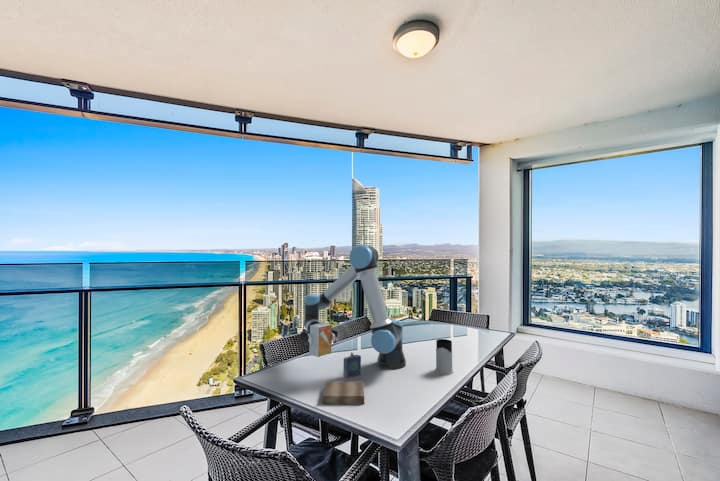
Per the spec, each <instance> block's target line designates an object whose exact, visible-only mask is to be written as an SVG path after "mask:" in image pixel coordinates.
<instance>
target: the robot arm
mask: <svg viewBox="0 0 720 481" xmlns="http://www.w3.org/2000/svg"><path fill="white" fill-rule="evenodd" d="M348 256H349V258H348V259H349V260H348V261H349V262H350V266H349V267H348V268H347V269H346V270H345V271H343V273H342V274H341V275H340V276H339V277H337V279H335V281H333V283H332V284H331V285H329V286H328V287H327V288H326V289H325V290H324V291H323V292H322V293H321V294H320V295H319V294H312V293H311V294H307V295H306V296H305V301H304V320H303V326H304V328H302V331H301V333H300V340H304V342H308V343H309V345H310V343H311V336H310V325H314V324H320V323H321V322H320V311H322V310H325V309H328V308H329V307H330V306H331V305H332V303H334V301H335V300H336V299H337V298H338V297H339V296H340V295H342V293H343V292H344V291H345V290H347V288H349V287H350V286H351V285H352V284H353V283H354V282H355V281H356V280H357V279H360V282H361V285H362V286H361V287H362V290H363V293H364V297H365V301H366V304H367V308H368V312H369V315H370V319H371V325H370V326H369V328H370V331H371V340H370V343H371V346H372V348H373V350H375V351H376V352H378V353H379V354H378V356H377V360H376V362H377V366H379V367H381V368H384V369H388V370H389V369H390V370H397V369H402V368H404V367H406V365H407V362H406V361H407V360H406V357H405V354H404V351H403V328H404V327H403V326H404V325H403V322H402V320H395V319H394V320H393V319H391V318H390V317H389V315H388V311H387V307H386V302H385V300H384V297H383V293H382V289H381V286H380V282H379V277H378V275H377V271H378V269H379V267H378V262H379V257H380V256H379V251H378V250H377V249H376V248H375V247H374V246H371V245H366V244H361V245H360V244H359V245H356V246H354V247H353V248H352V249H351V250H350V253H349V254H348ZM359 277H360V278H359ZM338 332H339V331H337V330H335V329H333V328H332V341H331V342H332V343H335V342H336V338H338V335H339V334H338Z"/></svg>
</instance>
